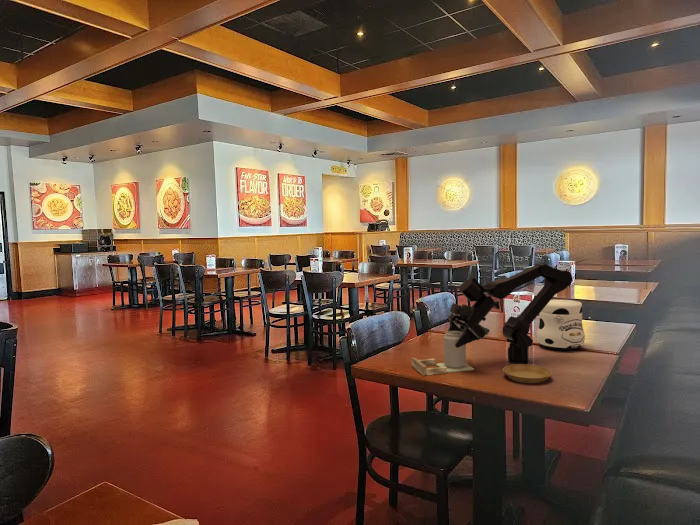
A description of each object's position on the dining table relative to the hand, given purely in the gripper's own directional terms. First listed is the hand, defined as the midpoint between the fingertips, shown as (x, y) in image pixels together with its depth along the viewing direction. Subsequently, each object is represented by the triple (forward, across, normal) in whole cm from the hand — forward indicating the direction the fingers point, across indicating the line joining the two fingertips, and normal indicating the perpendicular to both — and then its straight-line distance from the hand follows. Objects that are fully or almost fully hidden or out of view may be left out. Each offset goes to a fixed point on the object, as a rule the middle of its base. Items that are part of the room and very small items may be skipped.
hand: (450, 343), depth 169 cm
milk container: (-31, -13, +43) cm, 54 cm away
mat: (+5, 0, +7) cm, 9 cm away
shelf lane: (+11, 0, +1) cm, 11 cm away
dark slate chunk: (-14, -46, +27) cm, 56 cm away
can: (+5, 0, +7) cm, 8 cm away
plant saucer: (-7, +18, +19) cm, 27 cm away
